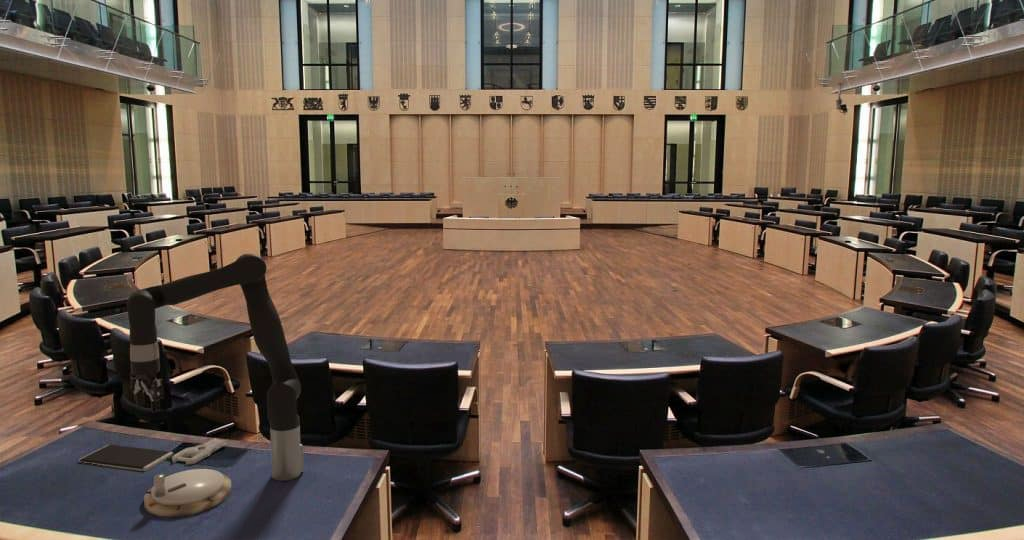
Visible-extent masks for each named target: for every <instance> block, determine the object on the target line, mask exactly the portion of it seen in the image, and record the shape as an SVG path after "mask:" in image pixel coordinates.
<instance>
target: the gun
mask: <svg viewBox="0 0 1024 540" xmlns="http://www.w3.org/2000/svg"><path fill="white" fill-rule="evenodd" d="M228 443H229V442H228V440H225V439H219V438H217V437H215V438H212V439H210V440H209V441H208V442H205V443H203V444H198V445H196V446H192V447H186V448H184V449H182V450H180V451H178V452H177V453H175V454H173V456H171V461H172V464H175V463H177V462H185V465H195V464H196V463H198V462H200V461H202V460H204V459H205V458H207V457H210V456H211V454H213V453H214V452H216V451H218V450H219V449H221V448H223V447H224V446H226V445H229V444H228Z"/></svg>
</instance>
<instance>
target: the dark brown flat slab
mask: <svg viewBox="0 0 1024 540" xmlns="http://www.w3.org/2000/svg"><path fill="white" fill-rule="evenodd" d="M172 455H174V452H173V451H166V450H159V449H152V448H151V449H150V448H144V447H133V446H125V445H116V444H107V445H105V446H102V447H101V448H99V449H97V450H95V451H93V452H91V453H88V454H86V455H85V456H83V457H80V458H79V459H78V463H79V462H84V463H83V464H85V463H92V464H91V465H93V464H97V465H96V466H100V465H102V467H108V466H109V467H110V468H116V469H123V470H131V471H133V470H134V471H138V472H140V471H141V472H146V471H149V470H151V469H152V468H154V467H156V466H157V465H159V464H161V463H162V462H164V461H166V460H167V458H168V459H169V458H172ZM109 467H108V468H109Z"/></svg>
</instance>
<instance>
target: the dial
mask: <svg viewBox="0 0 1024 540" xmlns="http://www.w3.org/2000/svg"><path fill="white" fill-rule="evenodd" d="M223 486H224V476H223V473H221V472H220V471H217V470H215V469H209V468H208V469H207V468H196V469H195V468H194V469H188V470H183V471H178V472H176V473H172V474H170V475H167V476H166V477H165V474H164V473H158V474H155V475H154V476H153V486H152V487H151V488H152V490H151V495H152V499H153V501H155V502H156V503H159V504H162V505H169V506H178V505H186V504H191V503H195V502H199V501H202V500H205V499H207V498H209V497H211V496H213V495H215V494H216V493H218V492H219V491H220V490H221V489H222V488H223Z"/></svg>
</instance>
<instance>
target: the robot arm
mask: <svg viewBox="0 0 1024 540" xmlns="http://www.w3.org/2000/svg"><path fill="white" fill-rule="evenodd" d="M266 274H267V263H266V262H265V260H264V259H263V258H262V257H261V256H259V255H257V254H255V253H244V254H241V255H240V256H239V257H237V259H236V260H235V261H233V262H232V263H229V264H227V265H224V266H222V267H219V268H216V269H212V270H209V271H205V272H202V273H201V272H200V273H196V274H192V275H188V276H184V277H182V278H178V279H175V280H172V281H169V282H165V283H163V284H160V285H154V286H149V287H144V288H141V289H139V290H136V291H133V293H131V294H130V296H129V297H128V299H127V303H126V304H127V305H126V306H127V318H128V323H129V346H130V347H129V359H130V374H129V378H130V379H129V381H130V382H129V383H130V385H129V386H130V391H131V392H133V394H134V395H135V405H136V407H138V408H139V407H142V406H145V405H146V402H145V401H146V399H145V393H146V395H147V396H148V397H149V399H150V411H151V412H152V413H153V414H155V413H158V412H160V411H161V401H160V400H162V399H164V398H165V390H164V382H163V381H164V380H163V378H160V379H157V376H156V374H158V373H159V372H160V371H161V363H160V362H161V361H160V360H161V359H160V347H159V342H158V329H157V326H156V309H159V308H161V307H165V306H175V305H179V304H182V303H184V302H188V301H191V300H193V299H197V298H199V297H201V296H204V295H208V294H211V293H213V292H217V291H219V290H223V289H226V288H230V287H234V286H235V287H236V286H240V287H241V291H242V292H243V296H244V300H245V304H246V310H247V315H248V321H249V326H250V329H251V334H252V337H253V340H254V343H255V345H256V347H257V349H258V351H259V353H260V354H261V355H262V356H263V358H264V359H265V361H266V362H267V364H268V367H269V370H270V374H271V378H272V379H271V380H272V384H271V385H270V386H269V388H268V390H267V392H266V410H267V411H266V412H267V419H268V422H269V427H270V428H269V429H270V431H269V432H270V461H271V464H270V465H271V467H270V468H271V478H272V479H273V480H275V481H280V482H281V481H282V482H283V481H284V482H286V481H291V480H294V479H297V478H298V477H299V476H301V474H302V473H303V472H304V446H303V444H302V443H301V425H300V424H301V423H300V422H301V421H300V420H301V419H300V416H299V415H298V413H297V412H298V411H297V399H298V398H299V397H300V395H301V392H302V386H301V382H300V380H299V377H298V375H297V372H296V369H295V368H294V365H293V362H292V360H291V359H292V358H291V356H290V355H291V354H290V351H289V347H288V342H287V339H286V336H285V330H284V327H283V324H282V321H281V318H280V316H279V313H278V312H279V311H278V310H277V308H276V306H275V304H274V302H273V299H272V297H271V296H270V293H269V289H268V286H267V285H268V283H267V280H266ZM301 472H302V473H301Z"/></svg>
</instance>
